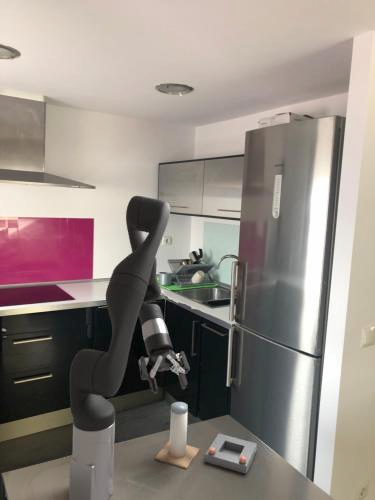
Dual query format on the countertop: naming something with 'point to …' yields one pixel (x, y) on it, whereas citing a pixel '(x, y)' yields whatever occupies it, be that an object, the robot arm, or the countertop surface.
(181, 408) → the ball
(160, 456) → the pad
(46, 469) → the countertop surface
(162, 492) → the countertop surface
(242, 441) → the block
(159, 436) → the countertop surface
